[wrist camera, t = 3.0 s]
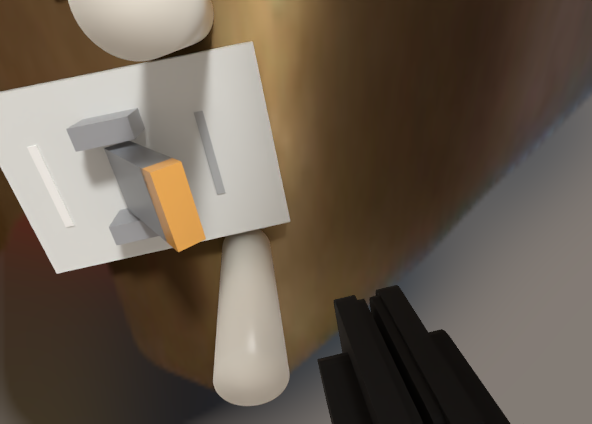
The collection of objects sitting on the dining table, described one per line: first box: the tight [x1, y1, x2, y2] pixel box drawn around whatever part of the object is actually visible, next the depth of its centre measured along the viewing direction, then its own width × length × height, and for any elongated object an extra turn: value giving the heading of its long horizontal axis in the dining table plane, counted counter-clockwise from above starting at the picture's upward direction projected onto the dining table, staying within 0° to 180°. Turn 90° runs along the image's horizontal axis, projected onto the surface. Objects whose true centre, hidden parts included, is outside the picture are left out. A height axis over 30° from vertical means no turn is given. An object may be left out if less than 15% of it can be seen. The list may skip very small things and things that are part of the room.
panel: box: [0, 41, 290, 274], centre depth 28 cm, size 18×13×5 cm
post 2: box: [213, 229, 290, 406], centre depth 28 cm, size 4×4×14 cm
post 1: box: [68, 0, 214, 61], centre depth 20 cm, size 4×4×14 cm
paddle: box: [104, 141, 206, 252], centre depth 24 cm, size 2×4×9 cm, turn 12°
